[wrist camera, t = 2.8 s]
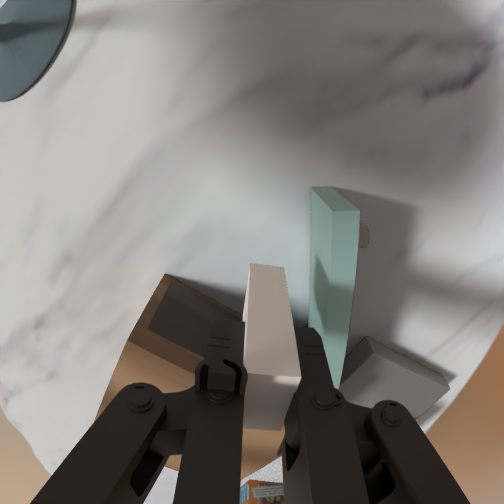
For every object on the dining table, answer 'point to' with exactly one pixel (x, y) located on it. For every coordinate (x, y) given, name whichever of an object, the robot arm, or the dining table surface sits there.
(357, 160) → the dining table surface
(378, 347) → the mixer strip
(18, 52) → the cocktail glass
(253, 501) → the milk carton
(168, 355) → the box
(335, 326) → the rack door
